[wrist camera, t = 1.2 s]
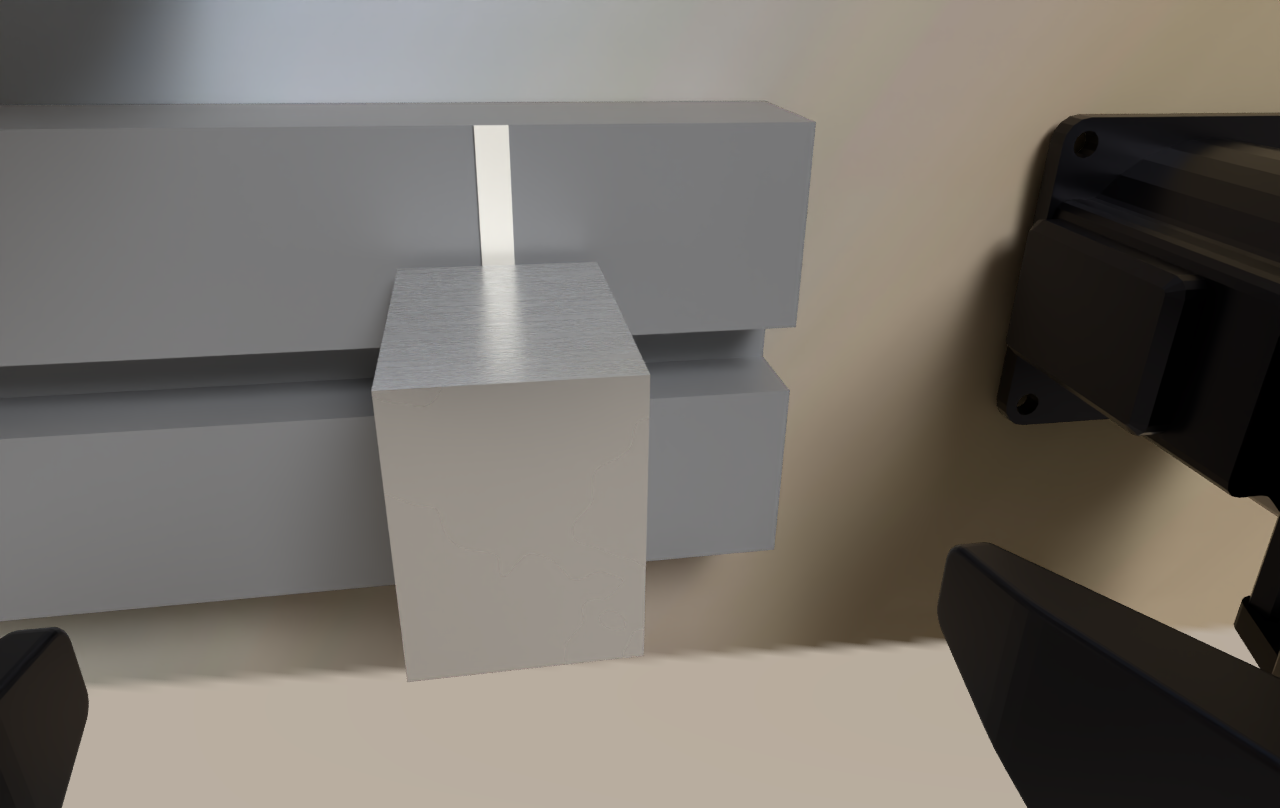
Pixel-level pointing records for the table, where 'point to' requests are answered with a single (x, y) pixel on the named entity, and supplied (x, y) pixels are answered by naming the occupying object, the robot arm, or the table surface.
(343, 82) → the table surface
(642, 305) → the slider console
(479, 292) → the fader tab
